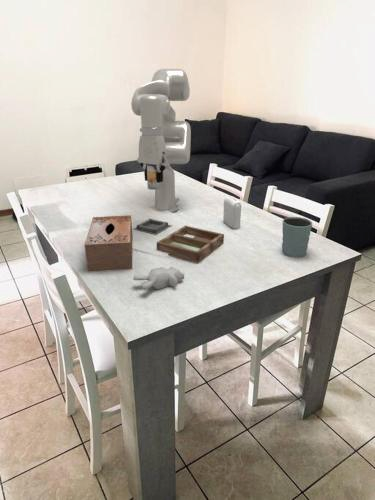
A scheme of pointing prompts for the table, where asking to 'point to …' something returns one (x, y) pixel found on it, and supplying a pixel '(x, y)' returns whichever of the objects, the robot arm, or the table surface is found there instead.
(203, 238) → the wooden divided tray
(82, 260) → the table surface
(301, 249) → the green tapered cup
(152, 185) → the cell
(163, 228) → the tester cradle
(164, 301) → the table surface
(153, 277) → the bunny figurine
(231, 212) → the photo printer
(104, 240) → the tissue box cover
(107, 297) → the table surface
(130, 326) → the table surface
